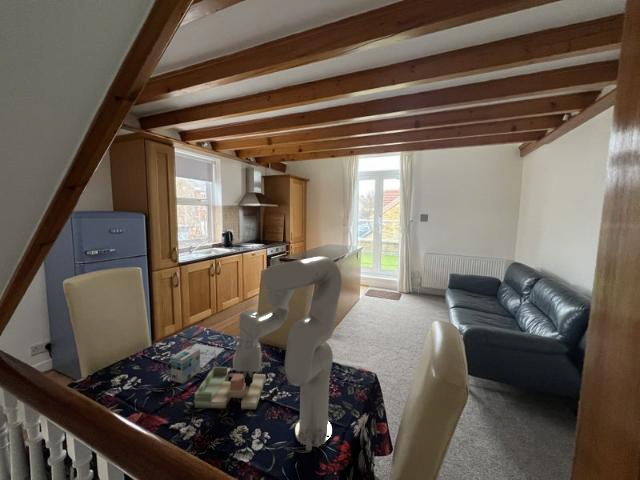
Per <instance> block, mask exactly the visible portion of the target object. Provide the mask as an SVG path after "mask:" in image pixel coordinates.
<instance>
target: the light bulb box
mask: <svg viewBox="0 0 640 480" xmlns="http://www.w3.org/2000/svg"><path fill="white" fill-rule="evenodd" d="M170 361H171V363H170V374H171V375H170V376H171V377H170V381H173V382H176V383H178V384H179V383H180V384H184V383H185V382H187V381H188V380H190V379H191V378H193V377H194V376H196V375H197V374H198V373H200V372H201V369H200V349H198V348H194V347H192V346H188V347H186V348H184V349H182V350H181V351H178V352H177V353H175V354H174V355H173V356H170Z"/></svg>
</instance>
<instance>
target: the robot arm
mask: <svg viewBox="0 0 640 480" xmlns="http://www.w3.org/2000/svg"><path fill="white" fill-rule="evenodd" d="M340 270H341V269H339V266H338V265H337V263H336V262H335V261H334V260H333V259H332V258H329V257H327V256H322V255H321V256H312V257H307V258H301V259H295V260H292V261H287V262H281V263H275V264H271V265H269V266H268V267H267V268H266V269H264V272H263V274H262V284H263V286H264V288H265V289H266V290H267V292H266V293H265V300H266V301H267V303H268V304H270V306H272V309H271V310H270V311H268V312H265V313H264V314H260V315H259V312H258V311H256V310H254V309H247V310H246V309H245V310H243V311H241V312H240V314H239V316H238V318H239V319H238V320H239V322H238V323H239V326H238V327H239V329H238V330H239V334H238V336H239V337H237V338H235V342H236V343H238V342H239V344H238V345H237V349H236V350H235V352H236V356H235V371H236V372H239V373H240V374H243V376H244V377H245V383H246V387H247V386H248V387H250V385H251V383H252V382H253V375H254V374H257V373H261V372H262V370H263V366H262V363H263V355H262V346H261V343H260V342H259V341H260V340H259V339H261V338H262V337H265V336H267V335H269V334H270V333H272V332H274V331H277V330H279V329H280V327H282V326H283V325H284V323H285V321H286V319H287V317H288V316H289V311H290V306H289V301H290V300H291V297H292V296H293V294H294V292H295V290H300V289H304V288H308V287H311V286H314V285H316V288H315V290H314V292H313V294H312V297H311V300H310V306H309V307H310V308H309V312H308V313H307V315H306V316H305V317H303V318H300V319H299V320H298V321H295V322H294V323H293V325H292V326H291V328H290V330H289V331H288V336H287V343H286V349H285V356H284V357H285V358H284V366H283V367H284V373H285V376H286V378H287V381H288V382H289V383H290V384H291V385H293V386H295V387H300V394H299V402H300V403H299V420H298V421H297V422H296V424H295V427H294V435H295V439H296V441H298V443H299V442H300V443H299V444H300V445H302V444H303V445H302V446H304V445H306V446H305V450H306V451H307V452H310V451H312V450H313V448H312V446H316V447H317V448H320V447H319V445H321V444H323V443H324V442H326V441H327V440H328V439H329V438H330V437H331V438H332V436H331V435H333V428H332V424H331V422H329V397H330V394H329V392H330V379H331V371H332V366H333V359H334V357H333V355H334V354H333V351H332V348H331V346H330V344H329V343H328V342H327V341H328V340H330V339H331V338H332V336H333V334H334V329H335V323H336V317H337V311H338V304H339V299H340V295H341V290H342V283H343V280H342V274H341V271H340ZM327 436H329V437H327ZM312 443H314V444H312Z"/></svg>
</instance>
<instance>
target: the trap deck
mask: <svg viewBox="0 0 640 480" xmlns="http://www.w3.org/2000/svg"><path fill="white" fill-rule="evenodd" d="M266 377H267V376H266V374H265V373H264V374H263V373H255V374H254V375H253V382H252V383H251V385H250V387H248V386H247V387H246V383H245V385H244V387H243V389H242V391H237V390H231V381H228V380H229V378H230V377H229V373H228V366H213V367H212V368H211V370H210V371H209V372H208V374H207V376H206V377H205V378H204V380H203V381H202V383H201V384H200V385H199V387H198V388H197V390H196V391H195V392H194V408H197V409H198V408H199V409H200V408H201V409H202V408H203V409H204V408H205V409H226V408H227V406H228V404H229V401H230V400H231V399H242V400H241V402H240V403H241V404H240V405H241V406H240V407H241V410H256V409H257V407H258V404H259V400H260V398H261V395H262V393H263V392H262V391H263V389H264V385H265V383H266V379H267V378H266Z"/></svg>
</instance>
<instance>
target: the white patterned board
mask: <svg viewBox="0 0 640 480" xmlns="http://www.w3.org/2000/svg"><path fill="white" fill-rule="evenodd" d="M191 347H194V348H198V349H200V370H202V369H203V368H204V367H206V365H208V364H209V363H210V362H211V361H212V360H214V359H215V358H217V356H219V354H220V353H222V352H223V351H224V350H225V348H224V347H222V348H221V347H216V346H210V345H204V344H200V343H194V345H192V346H191ZM168 364H171V360H169V361H168Z"/></svg>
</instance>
